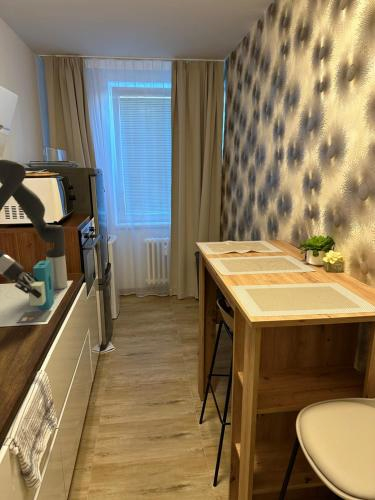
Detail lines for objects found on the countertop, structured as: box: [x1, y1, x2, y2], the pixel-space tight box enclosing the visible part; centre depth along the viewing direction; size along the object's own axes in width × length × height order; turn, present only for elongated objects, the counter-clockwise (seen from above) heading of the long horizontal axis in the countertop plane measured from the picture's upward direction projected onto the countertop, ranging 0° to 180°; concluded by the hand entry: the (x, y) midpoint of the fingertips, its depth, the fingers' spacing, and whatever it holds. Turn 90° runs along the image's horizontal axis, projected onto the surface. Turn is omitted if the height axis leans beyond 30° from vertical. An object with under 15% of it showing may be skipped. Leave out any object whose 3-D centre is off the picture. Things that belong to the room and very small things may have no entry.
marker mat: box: [16, 309, 53, 324], centre depth 150 cm, size 11×12×1 cm
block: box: [32, 260, 55, 311], centre depth 159 cm, size 12×5×20 cm, turn 8°
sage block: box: [28, 282, 46, 307], centre depth 145 cm, size 5×5×8 cm
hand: (41, 294), depth 145 cm, fingers closed on sage block, 5 cm apart
